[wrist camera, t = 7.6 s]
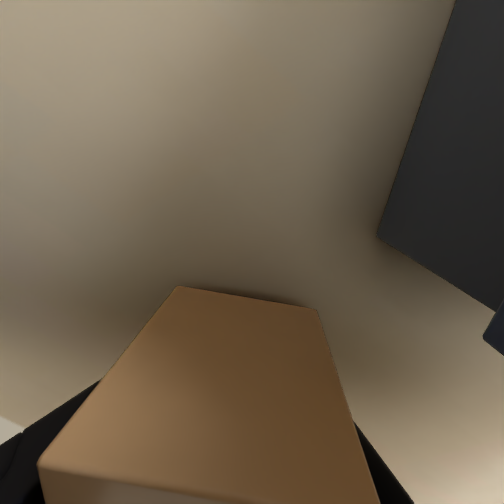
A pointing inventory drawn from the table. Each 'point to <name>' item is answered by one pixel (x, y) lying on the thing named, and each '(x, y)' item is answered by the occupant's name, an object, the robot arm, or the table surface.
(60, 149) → the table surface
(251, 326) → the kraft box
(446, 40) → the blue piece
